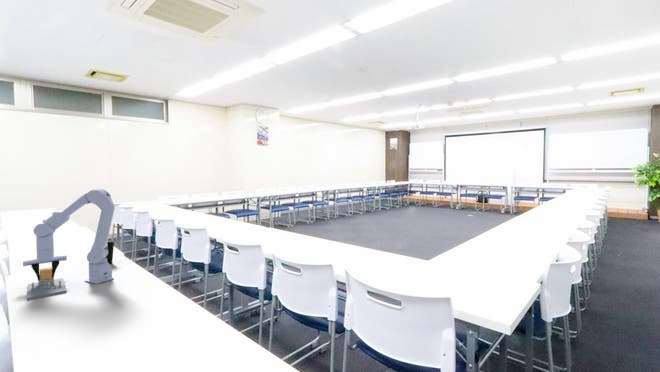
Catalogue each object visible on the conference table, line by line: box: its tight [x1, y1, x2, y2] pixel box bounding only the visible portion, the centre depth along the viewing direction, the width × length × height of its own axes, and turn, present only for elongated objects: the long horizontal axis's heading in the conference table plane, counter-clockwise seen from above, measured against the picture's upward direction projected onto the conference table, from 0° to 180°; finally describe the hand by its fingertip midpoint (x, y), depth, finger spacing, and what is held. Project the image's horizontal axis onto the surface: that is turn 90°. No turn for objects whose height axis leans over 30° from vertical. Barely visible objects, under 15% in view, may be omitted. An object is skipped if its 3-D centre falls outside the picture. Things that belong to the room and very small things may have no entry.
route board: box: [27, 277, 68, 300], centre depth 135 cm, size 21×12×1 cm, turn 45°
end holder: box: [37, 277, 55, 287], centre depth 139 cm, size 7×5×2 cm
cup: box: [106, 241, 115, 265], centre depth 173 cm, size 8×8×12 cm
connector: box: [39, 266, 52, 280], centre depth 139 cm, size 4×4×6 cm
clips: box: [31, 280, 61, 289], centre depth 135 cm, size 6×9×2 cm, turn 135°
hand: (45, 278), depth 139 cm, fingers closed on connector, 4 cm apart
